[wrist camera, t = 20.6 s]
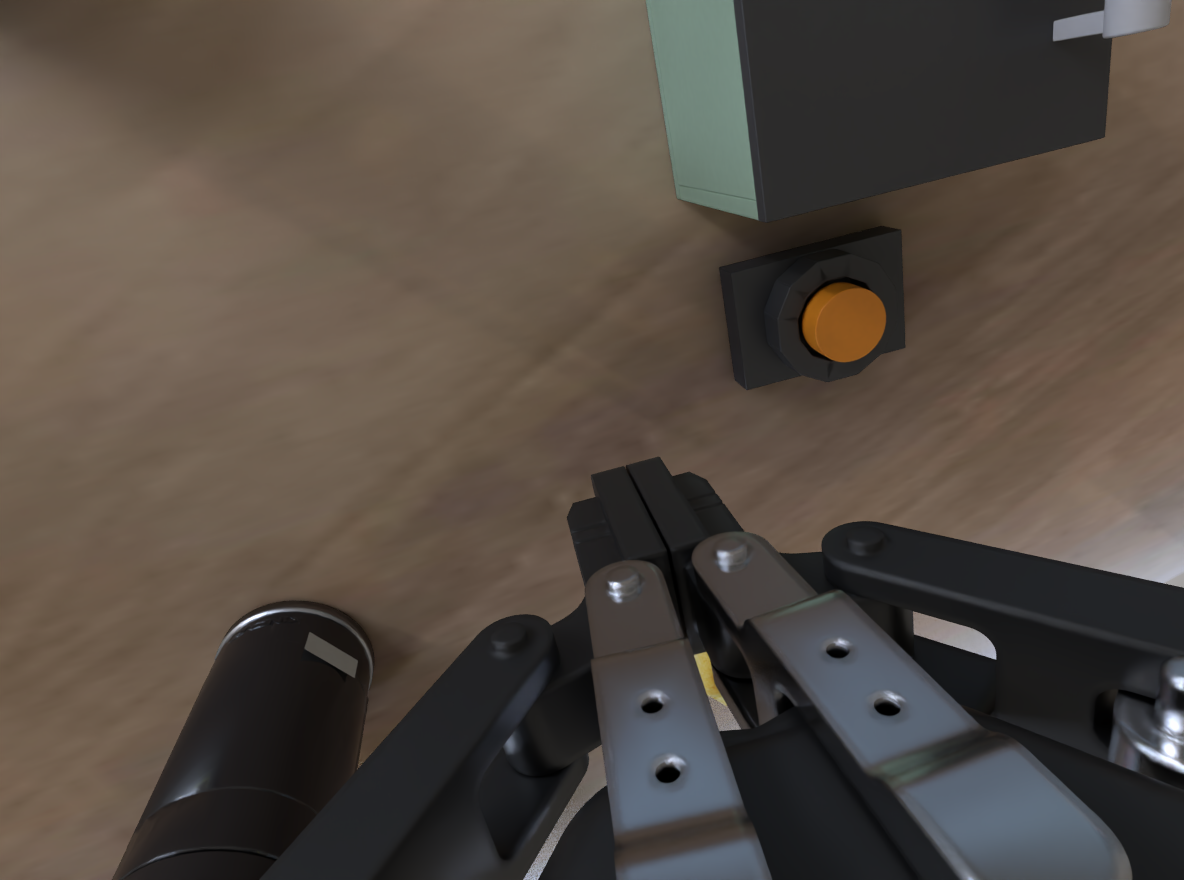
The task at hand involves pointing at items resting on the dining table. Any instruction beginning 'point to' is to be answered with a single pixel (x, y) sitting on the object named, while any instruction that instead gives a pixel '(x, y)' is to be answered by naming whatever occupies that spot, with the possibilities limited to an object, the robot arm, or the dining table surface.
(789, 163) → the lid
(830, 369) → the block
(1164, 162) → the dining table surface
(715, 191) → the sage green box
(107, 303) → the dining table surface
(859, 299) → the button
